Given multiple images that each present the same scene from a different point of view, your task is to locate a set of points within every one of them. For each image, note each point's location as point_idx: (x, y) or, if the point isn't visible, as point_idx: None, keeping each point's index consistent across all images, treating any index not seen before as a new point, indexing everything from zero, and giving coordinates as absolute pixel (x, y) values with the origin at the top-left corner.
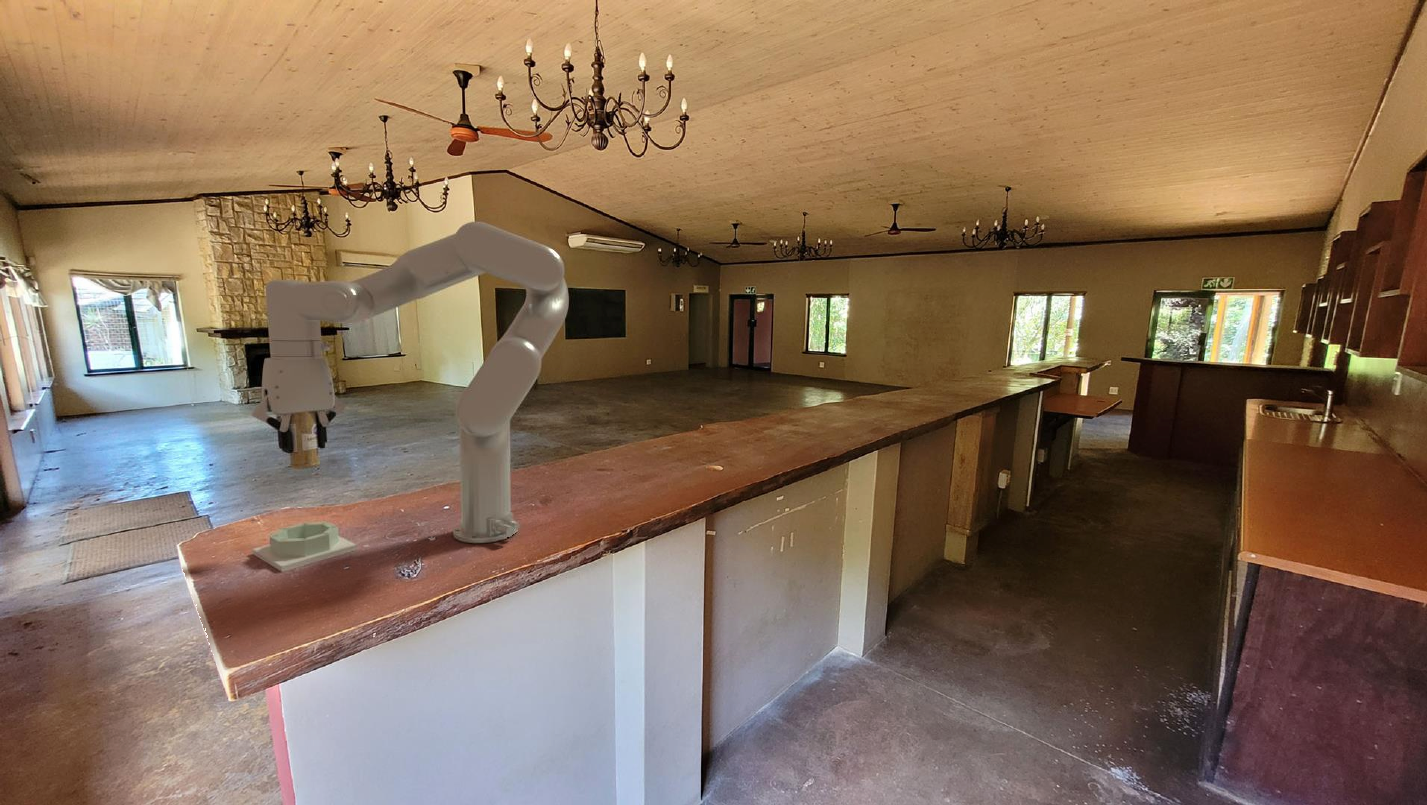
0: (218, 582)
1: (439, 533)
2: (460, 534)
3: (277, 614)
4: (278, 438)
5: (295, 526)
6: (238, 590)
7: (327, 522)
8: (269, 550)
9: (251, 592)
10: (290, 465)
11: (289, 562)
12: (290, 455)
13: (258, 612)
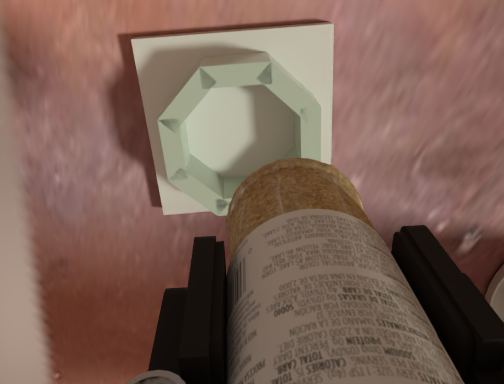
0: (49, 172)
1: (501, 225)
2: (499, 298)
3: (122, 359)
4: (156, 341)
5: (237, 79)
6: (81, 238)
7: (318, 111)
8: (164, 88)
9: (100, 262)
10: (227, 218)
11: (181, 202)
12: (230, 253)
13: (99, 337)
